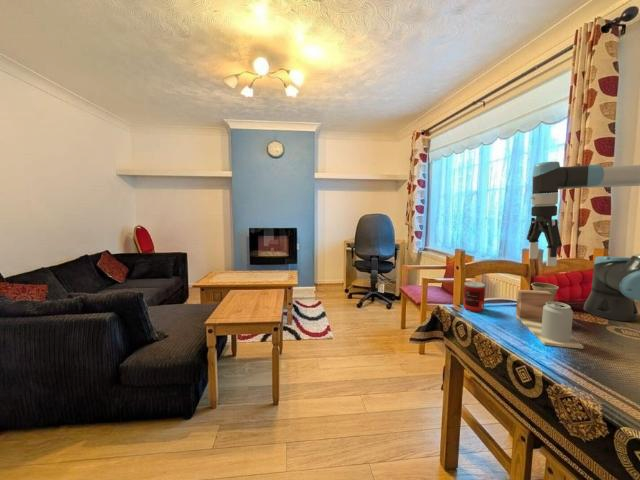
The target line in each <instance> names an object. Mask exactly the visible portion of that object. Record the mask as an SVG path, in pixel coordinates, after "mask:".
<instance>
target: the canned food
mask: <svg viewBox="0 0 640 480" xmlns="http://www.w3.org/2000/svg"><path fill="white" fill-rule="evenodd" d="M463 285H464V287H463V288H464V290H463V308H465V309H464V310H466V311H468V312H470V313H471V312H472V313H481V312H483V311H484V309H485V296H486V284H484V283H483V282H481V281H465V282H464V284H463Z"/></svg>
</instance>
